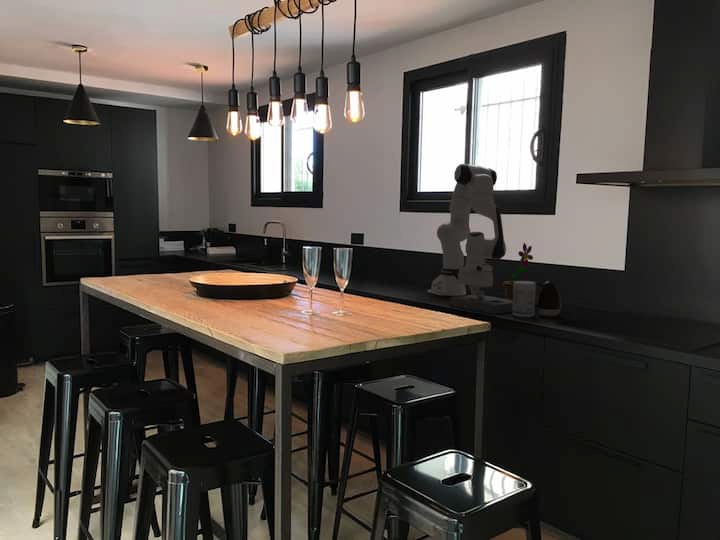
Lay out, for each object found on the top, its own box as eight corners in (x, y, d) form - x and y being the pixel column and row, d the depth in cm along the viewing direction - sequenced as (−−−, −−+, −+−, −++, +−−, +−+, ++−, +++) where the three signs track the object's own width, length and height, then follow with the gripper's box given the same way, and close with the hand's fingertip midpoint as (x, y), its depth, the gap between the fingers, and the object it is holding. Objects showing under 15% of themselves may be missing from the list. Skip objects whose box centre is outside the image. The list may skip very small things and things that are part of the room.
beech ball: (474, 298, 278) (474, 290, 277) (480, 297, 280) (480, 289, 279) (480, 299, 274) (480, 291, 274) (486, 298, 276) (487, 290, 276)
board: (450, 305, 282) (450, 297, 281) (477, 302, 292) (477, 294, 291) (493, 314, 258) (493, 305, 258) (521, 310, 268) (521, 301, 268)
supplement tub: (515, 312, 262) (516, 280, 261) (537, 314, 258) (538, 281, 256) (509, 316, 254) (510, 282, 252) (531, 318, 249) (532, 284, 248)
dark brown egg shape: (536, 313, 262) (537, 279, 261) (560, 314, 259) (562, 280, 257) (535, 317, 253) (536, 282, 251) (561, 318, 249) (562, 283, 248)
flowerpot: (521, 306, 278) (523, 243, 275) (496, 303, 289) (498, 242, 286) (538, 303, 288) (540, 242, 285) (513, 300, 298) (515, 241, 295)
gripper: (455, 264, 286) (454, 292, 287) (485, 268, 269) (485, 298, 270) (464, 264, 289) (464, 291, 291) (495, 267, 272) (494, 297, 274)
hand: (474, 295), depth 280 cm, fingers closed
